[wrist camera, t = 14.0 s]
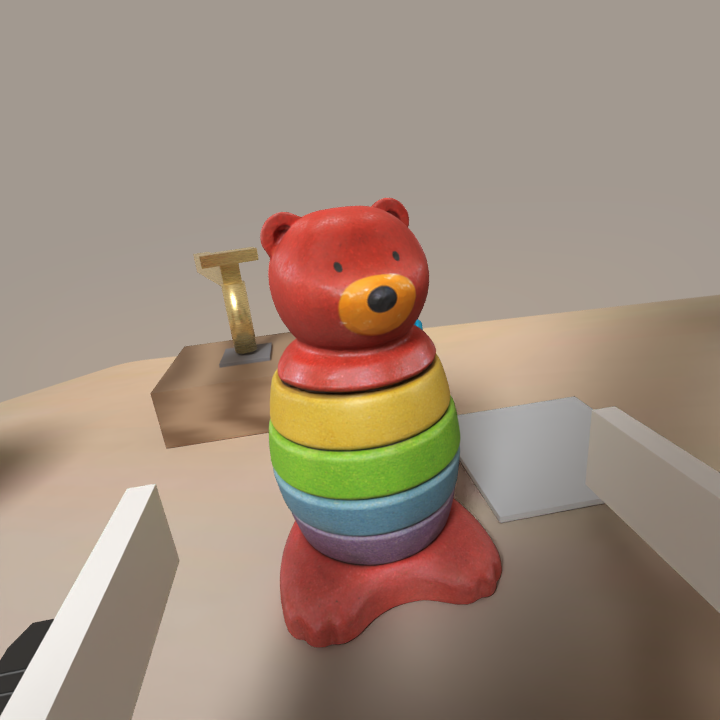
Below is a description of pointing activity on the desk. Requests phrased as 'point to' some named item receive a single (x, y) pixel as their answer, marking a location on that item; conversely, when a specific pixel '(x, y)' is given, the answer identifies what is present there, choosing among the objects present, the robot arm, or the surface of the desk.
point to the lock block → (218, 391)
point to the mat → (529, 457)
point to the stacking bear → (364, 428)
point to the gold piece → (232, 291)
